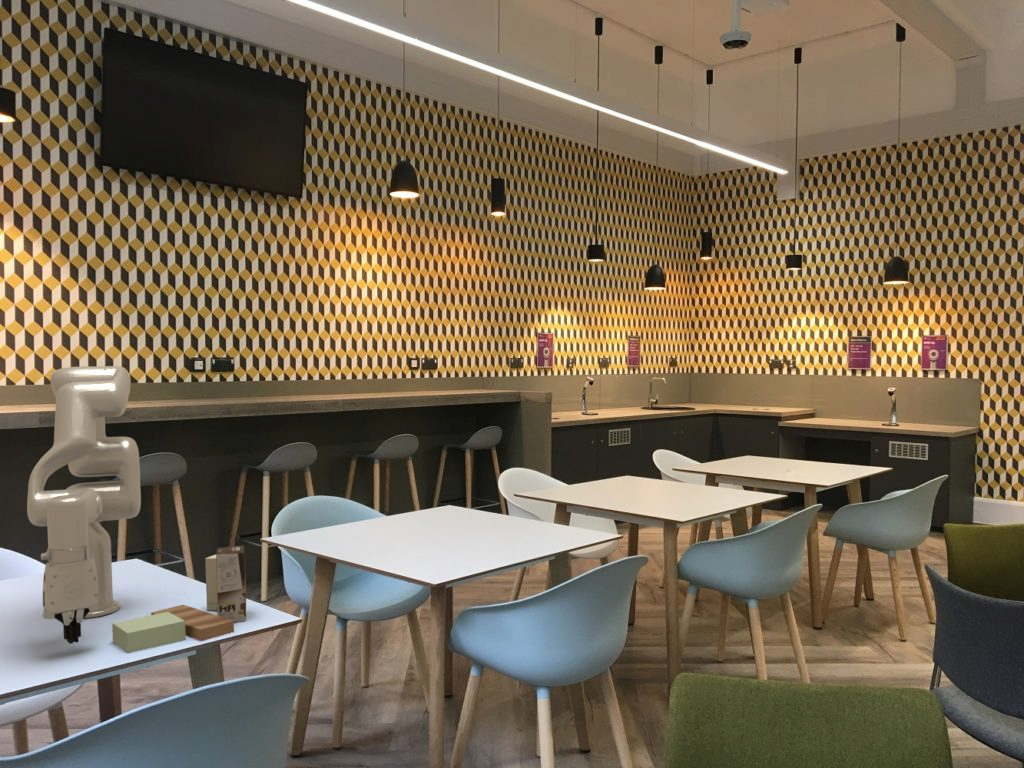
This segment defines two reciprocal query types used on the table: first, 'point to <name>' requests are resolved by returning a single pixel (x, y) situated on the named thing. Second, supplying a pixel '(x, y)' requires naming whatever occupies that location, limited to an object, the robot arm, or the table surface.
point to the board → (200, 622)
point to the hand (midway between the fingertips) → (72, 641)
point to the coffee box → (231, 583)
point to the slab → (148, 631)
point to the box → (211, 583)
